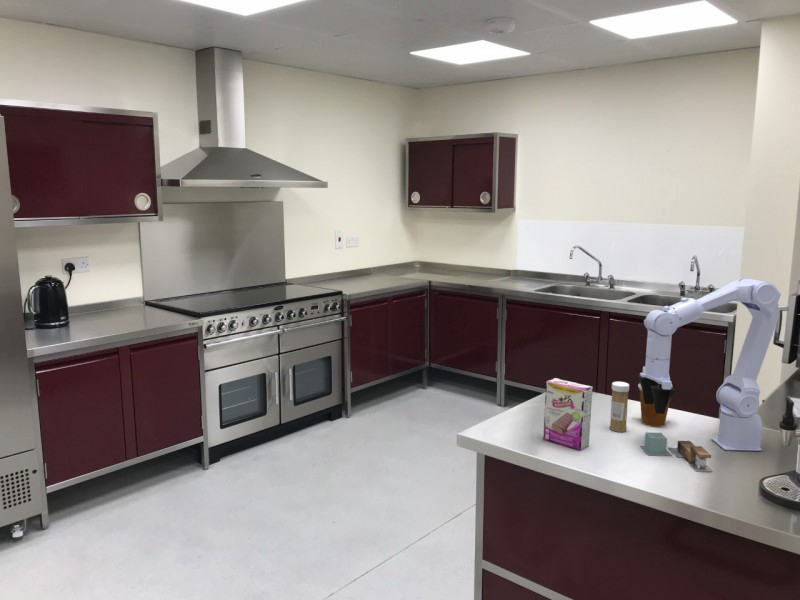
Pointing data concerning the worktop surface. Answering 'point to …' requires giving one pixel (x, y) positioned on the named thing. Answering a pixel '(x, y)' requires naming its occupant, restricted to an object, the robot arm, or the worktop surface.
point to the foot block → (655, 442)
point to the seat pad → (655, 453)
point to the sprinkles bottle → (619, 406)
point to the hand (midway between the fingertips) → (654, 408)
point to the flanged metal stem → (700, 465)
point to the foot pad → (676, 452)
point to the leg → (692, 451)
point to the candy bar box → (567, 413)
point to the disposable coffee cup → (651, 412)
